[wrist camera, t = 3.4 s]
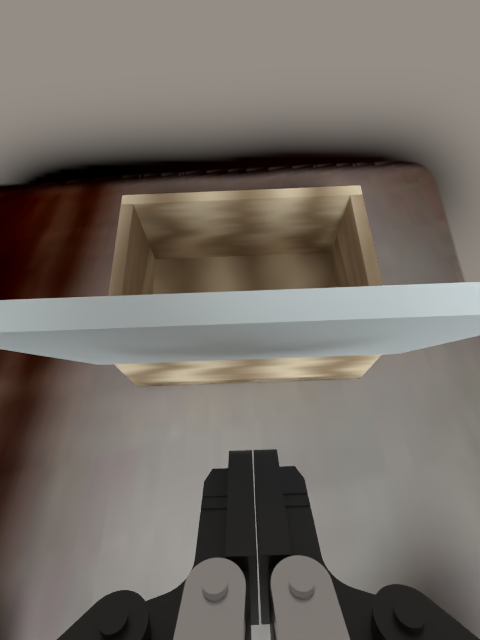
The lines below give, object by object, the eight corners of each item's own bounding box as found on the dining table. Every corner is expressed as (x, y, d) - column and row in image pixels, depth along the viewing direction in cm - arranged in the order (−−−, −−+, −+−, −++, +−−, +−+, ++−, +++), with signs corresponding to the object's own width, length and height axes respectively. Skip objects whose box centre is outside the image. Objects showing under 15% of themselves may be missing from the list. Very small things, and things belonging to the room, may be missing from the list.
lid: (99, 349, 25) (98, 364, 25) (-79, 303, 11) (-83, 335, 11) (396, 339, 25) (397, 353, 25) (579, 278, 11) (586, 310, 11)
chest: (136, 386, 33) (100, 350, 25) (148, 257, 40) (122, 195, 31) (359, 378, 33) (395, 340, 25) (337, 249, 39) (360, 185, 31)
